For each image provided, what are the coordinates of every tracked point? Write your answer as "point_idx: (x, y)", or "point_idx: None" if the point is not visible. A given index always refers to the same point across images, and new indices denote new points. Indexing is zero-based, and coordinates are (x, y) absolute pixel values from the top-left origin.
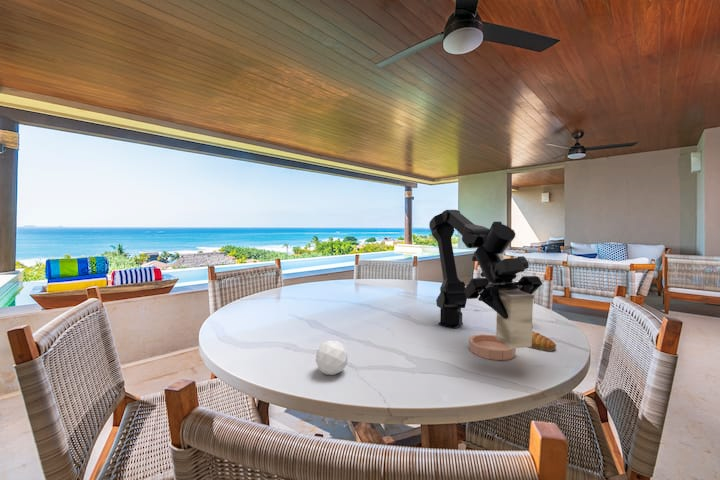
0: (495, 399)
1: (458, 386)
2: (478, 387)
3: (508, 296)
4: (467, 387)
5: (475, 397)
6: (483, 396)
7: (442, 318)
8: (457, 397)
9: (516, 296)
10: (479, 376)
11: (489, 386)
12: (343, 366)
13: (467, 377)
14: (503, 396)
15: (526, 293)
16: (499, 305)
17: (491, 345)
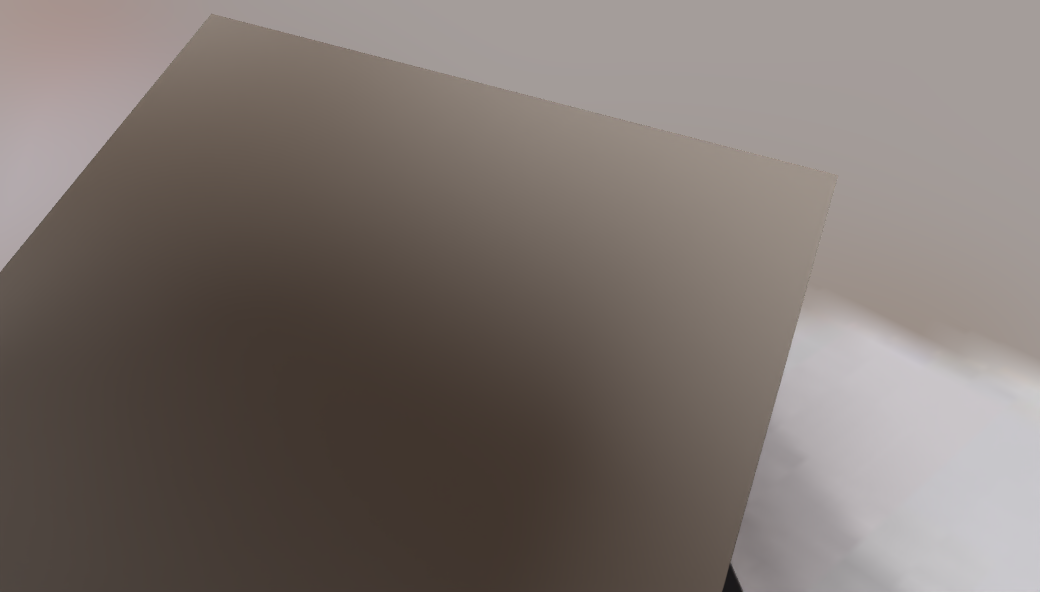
0: (852, 329)
1: (953, 503)
2: (851, 433)
3: (775, 340)
4: (909, 467)
5: (933, 387)
6: (888, 371)
7: None
8: (1029, 436)
9: (654, 140)
10: (757, 499)
11: (789, 407)
12: None
13: (831, 535)
14: (798, 324)
15: (140, 173)
16: (734, 578)
17: None
